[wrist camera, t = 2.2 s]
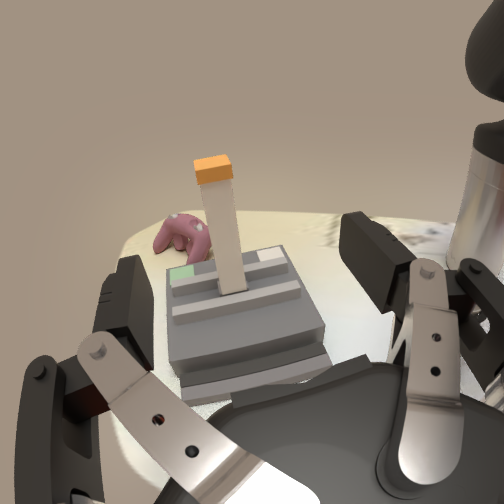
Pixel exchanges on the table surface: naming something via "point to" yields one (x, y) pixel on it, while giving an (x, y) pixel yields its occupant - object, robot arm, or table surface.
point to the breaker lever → (222, 222)
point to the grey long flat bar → (254, 374)
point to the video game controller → (184, 236)
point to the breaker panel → (238, 313)
